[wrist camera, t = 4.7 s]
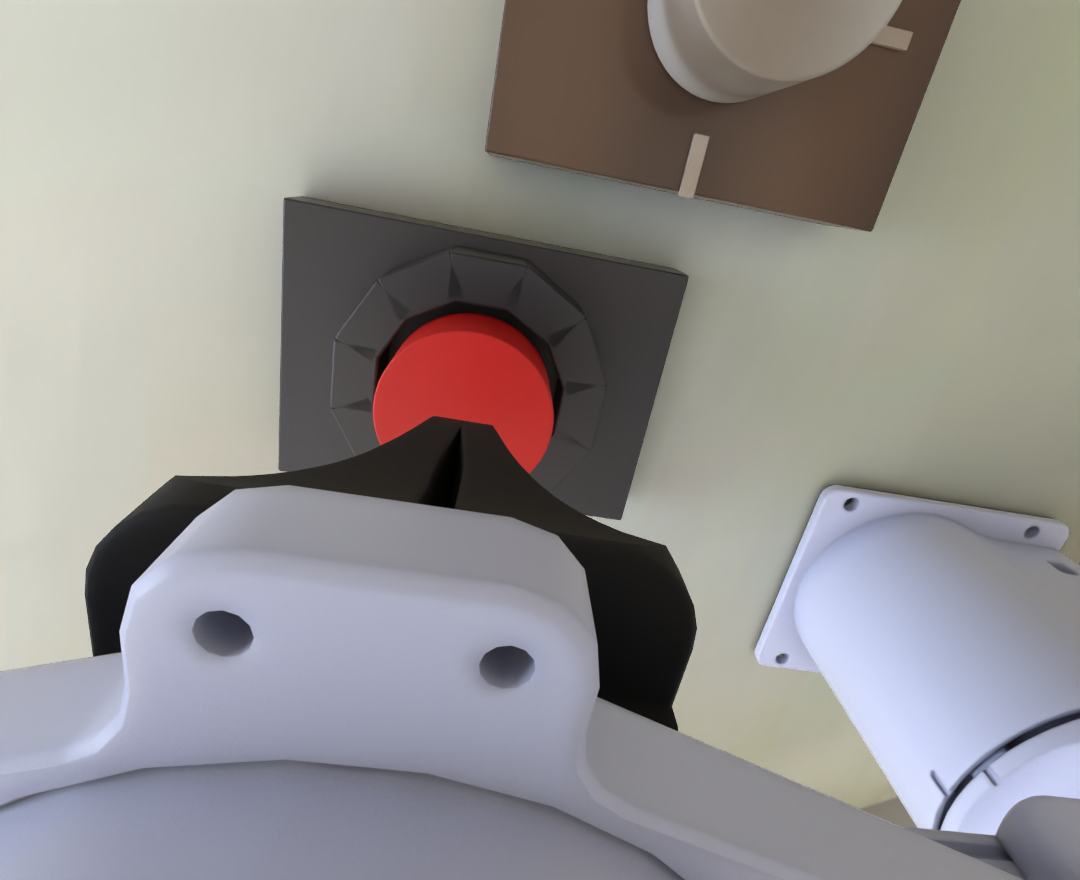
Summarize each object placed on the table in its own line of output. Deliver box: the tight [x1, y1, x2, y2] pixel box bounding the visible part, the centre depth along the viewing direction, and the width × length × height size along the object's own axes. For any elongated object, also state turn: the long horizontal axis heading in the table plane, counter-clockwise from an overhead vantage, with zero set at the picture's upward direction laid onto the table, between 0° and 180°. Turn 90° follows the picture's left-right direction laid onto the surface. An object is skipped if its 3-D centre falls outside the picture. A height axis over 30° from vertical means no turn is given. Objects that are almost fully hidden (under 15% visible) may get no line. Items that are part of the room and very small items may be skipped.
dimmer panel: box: [485, 0, 961, 232], centre depth 14 cm, size 10×8×3 cm
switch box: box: [279, 196, 688, 520], centre depth 18 cm, size 11×8×3 cm
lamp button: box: [373, 313, 554, 473], centre depth 16 cm, size 4×4×2 cm
